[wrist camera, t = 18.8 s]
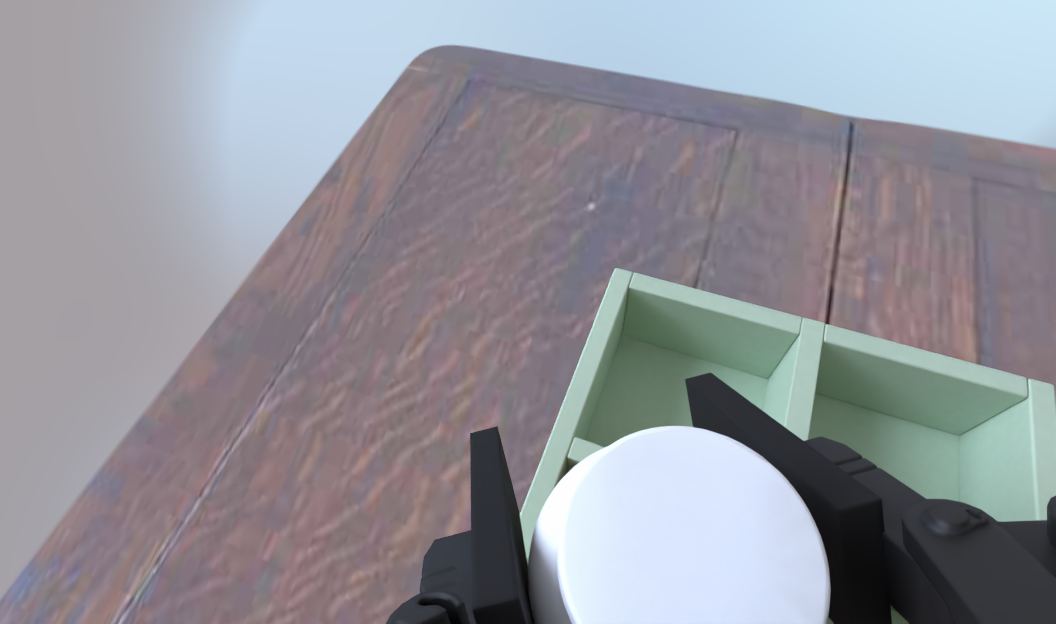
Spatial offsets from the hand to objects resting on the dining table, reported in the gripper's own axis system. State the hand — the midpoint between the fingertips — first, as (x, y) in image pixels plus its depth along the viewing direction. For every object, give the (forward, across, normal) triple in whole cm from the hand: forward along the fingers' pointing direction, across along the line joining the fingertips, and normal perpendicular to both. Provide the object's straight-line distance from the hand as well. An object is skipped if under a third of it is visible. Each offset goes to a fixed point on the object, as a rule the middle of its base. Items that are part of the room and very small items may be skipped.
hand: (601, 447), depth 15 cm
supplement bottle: (0, 0, -5) cm, 5 cm away
